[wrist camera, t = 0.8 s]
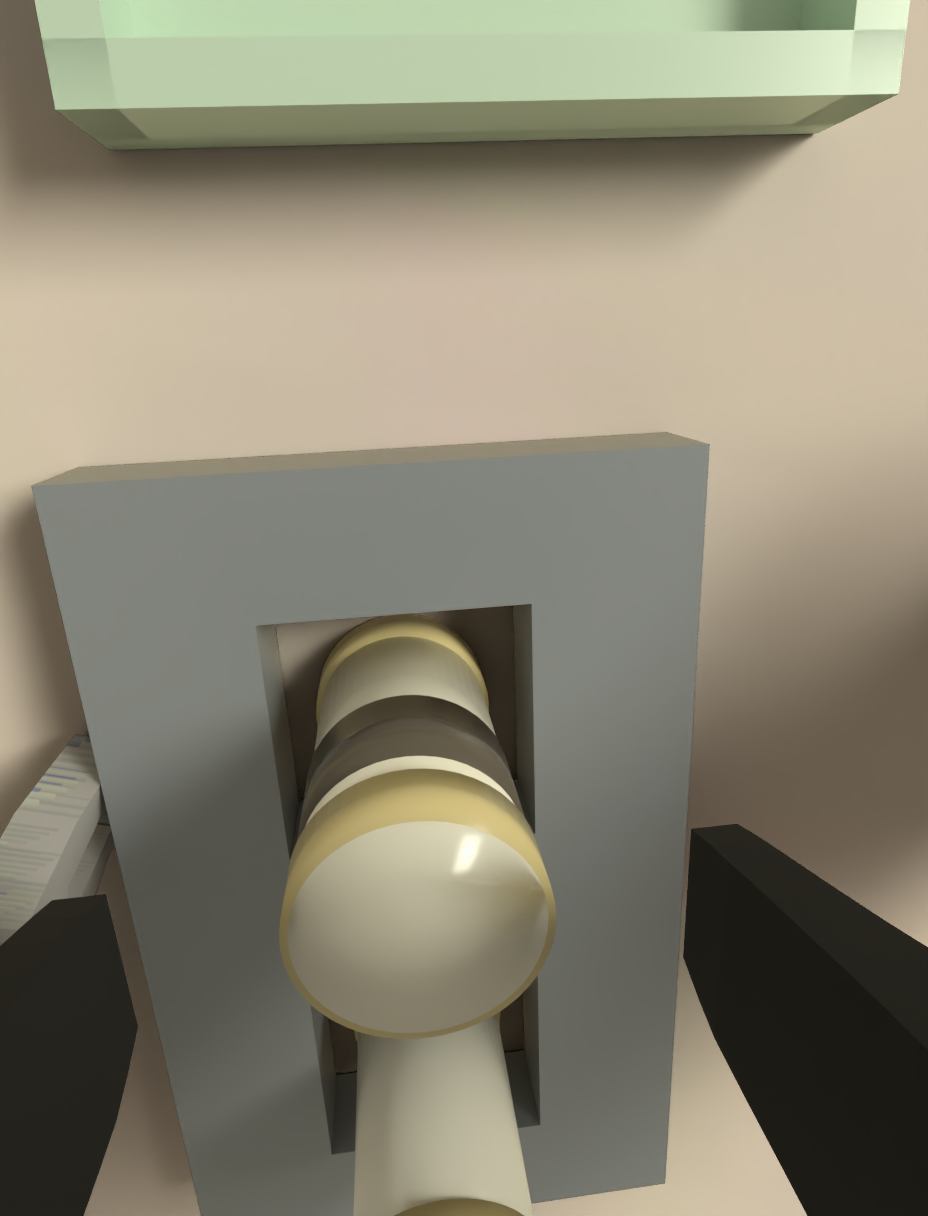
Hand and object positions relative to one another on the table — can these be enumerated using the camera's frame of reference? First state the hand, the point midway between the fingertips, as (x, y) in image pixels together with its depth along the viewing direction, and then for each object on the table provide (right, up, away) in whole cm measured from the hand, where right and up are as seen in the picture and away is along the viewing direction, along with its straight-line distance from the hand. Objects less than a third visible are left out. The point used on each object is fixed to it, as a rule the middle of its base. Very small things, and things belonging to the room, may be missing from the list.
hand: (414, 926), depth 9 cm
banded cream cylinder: (-1, +2, +6) cm, 7 cm away
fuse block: (-1, -2, +8) cm, 8 cm away
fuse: (0, -5, +9) cm, 11 cm away
